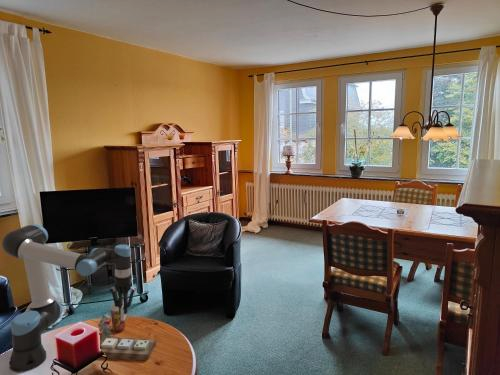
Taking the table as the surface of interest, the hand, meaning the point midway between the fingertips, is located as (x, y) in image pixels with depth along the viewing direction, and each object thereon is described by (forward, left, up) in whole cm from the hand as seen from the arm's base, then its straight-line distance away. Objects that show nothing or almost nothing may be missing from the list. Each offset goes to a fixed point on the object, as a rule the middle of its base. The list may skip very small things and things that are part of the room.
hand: (123, 319), depth 174 cm
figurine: (-14, +10, -18) cm, 24 cm away
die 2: (+1, 0, -17) cm, 17 cm away
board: (+1, 0, -17) cm, 17 cm away
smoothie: (-11, +19, -17) cm, 28 cm away
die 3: (+9, 0, -17) cm, 20 cm away
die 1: (-8, 0, -17) cm, 19 cm away
